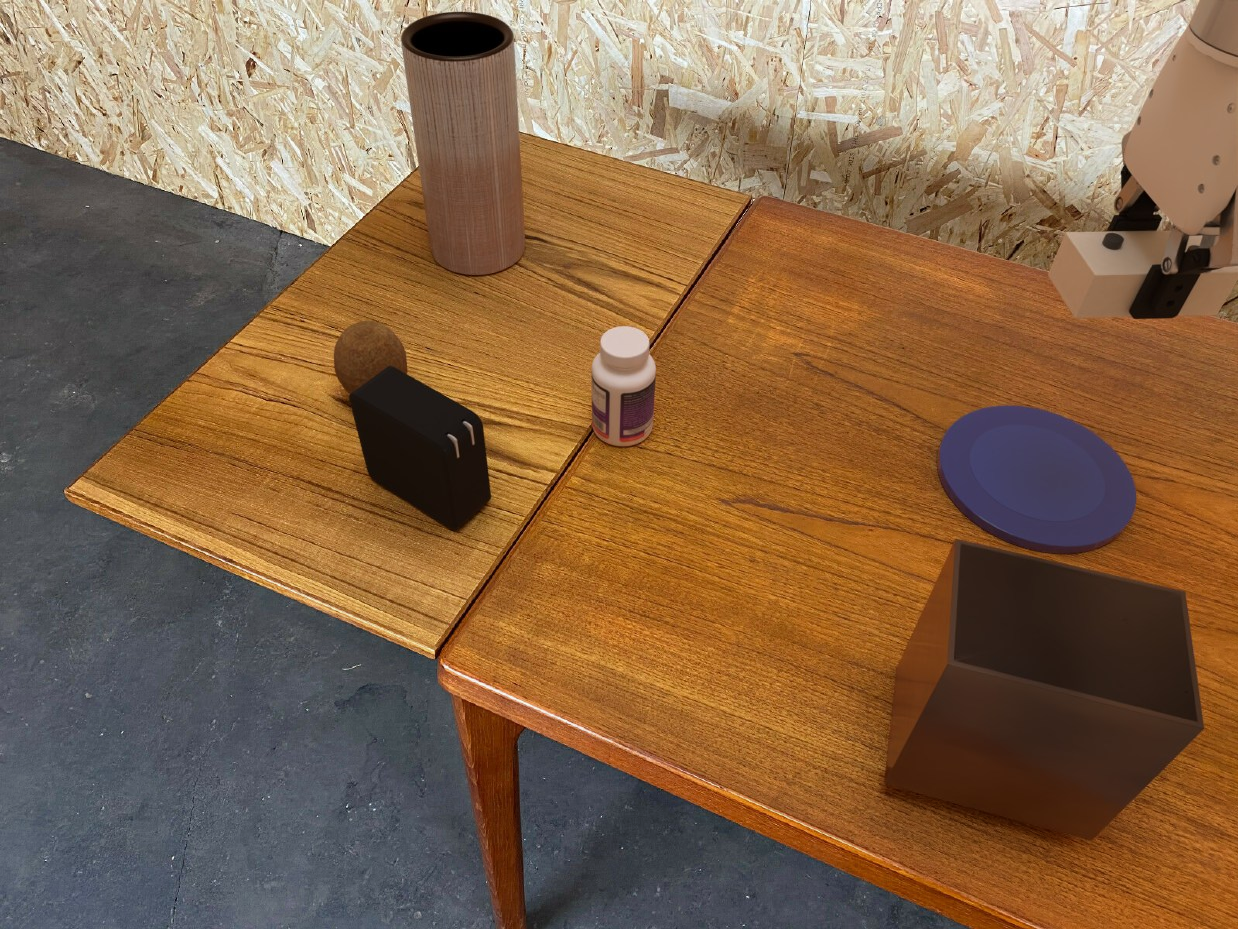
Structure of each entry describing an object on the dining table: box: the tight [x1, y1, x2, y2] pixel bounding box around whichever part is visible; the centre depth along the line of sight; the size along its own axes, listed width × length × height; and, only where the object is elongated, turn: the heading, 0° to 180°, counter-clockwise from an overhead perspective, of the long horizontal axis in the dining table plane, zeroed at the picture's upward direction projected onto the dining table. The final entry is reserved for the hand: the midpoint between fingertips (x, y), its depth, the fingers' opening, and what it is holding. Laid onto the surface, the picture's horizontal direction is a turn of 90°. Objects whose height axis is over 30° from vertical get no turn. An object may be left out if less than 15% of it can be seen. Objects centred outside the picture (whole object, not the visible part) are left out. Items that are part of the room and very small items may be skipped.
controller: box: [1047, 230, 1238, 319], centre depth 65 cm, size 10×5×4 cm, turn 94°
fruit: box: [333, 320, 408, 395], centre depth 83 cm, size 6×6×8 cm
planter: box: [400, 11, 526, 276], centre depth 93 cm, size 10×10×23 cm
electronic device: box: [348, 366, 492, 532], centre depth 75 cm, size 4×10×10 cm, turn 54°
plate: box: [936, 404, 1137, 555], centre depth 81 cm, size 16×16×1 cm
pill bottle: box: [590, 325, 657, 447], centre depth 81 cm, size 5×5×10 cm
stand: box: [883, 538, 1205, 842], centre depth 59 cm, size 13×9×15 cm
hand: (1133, 287), depth 66 cm, fingers closed on controller, 5 cm apart
